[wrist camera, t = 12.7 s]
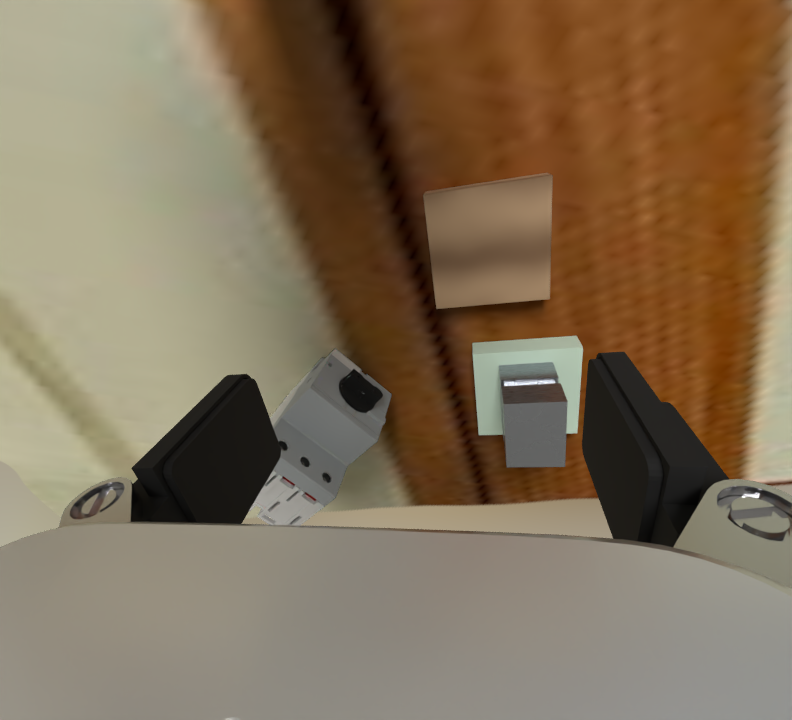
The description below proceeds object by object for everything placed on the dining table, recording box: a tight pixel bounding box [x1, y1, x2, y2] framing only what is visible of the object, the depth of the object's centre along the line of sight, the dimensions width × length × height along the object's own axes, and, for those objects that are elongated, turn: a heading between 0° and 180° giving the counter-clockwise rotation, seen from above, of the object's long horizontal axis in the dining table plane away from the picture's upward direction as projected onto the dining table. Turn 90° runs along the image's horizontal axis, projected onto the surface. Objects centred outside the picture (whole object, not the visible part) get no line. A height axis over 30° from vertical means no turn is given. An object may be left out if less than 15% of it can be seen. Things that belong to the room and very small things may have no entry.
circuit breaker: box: [249, 348, 392, 526], centre depth 39 cm, size 8×14×15 cm, turn 139°
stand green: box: [472, 336, 583, 435], centre depth 41 cm, size 10×10×2 cm
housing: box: [499, 362, 568, 467], centre depth 37 cm, size 7×5×7 cm
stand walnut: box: [423, 173, 553, 309], centre depth 35 cm, size 10×10×2 cm
